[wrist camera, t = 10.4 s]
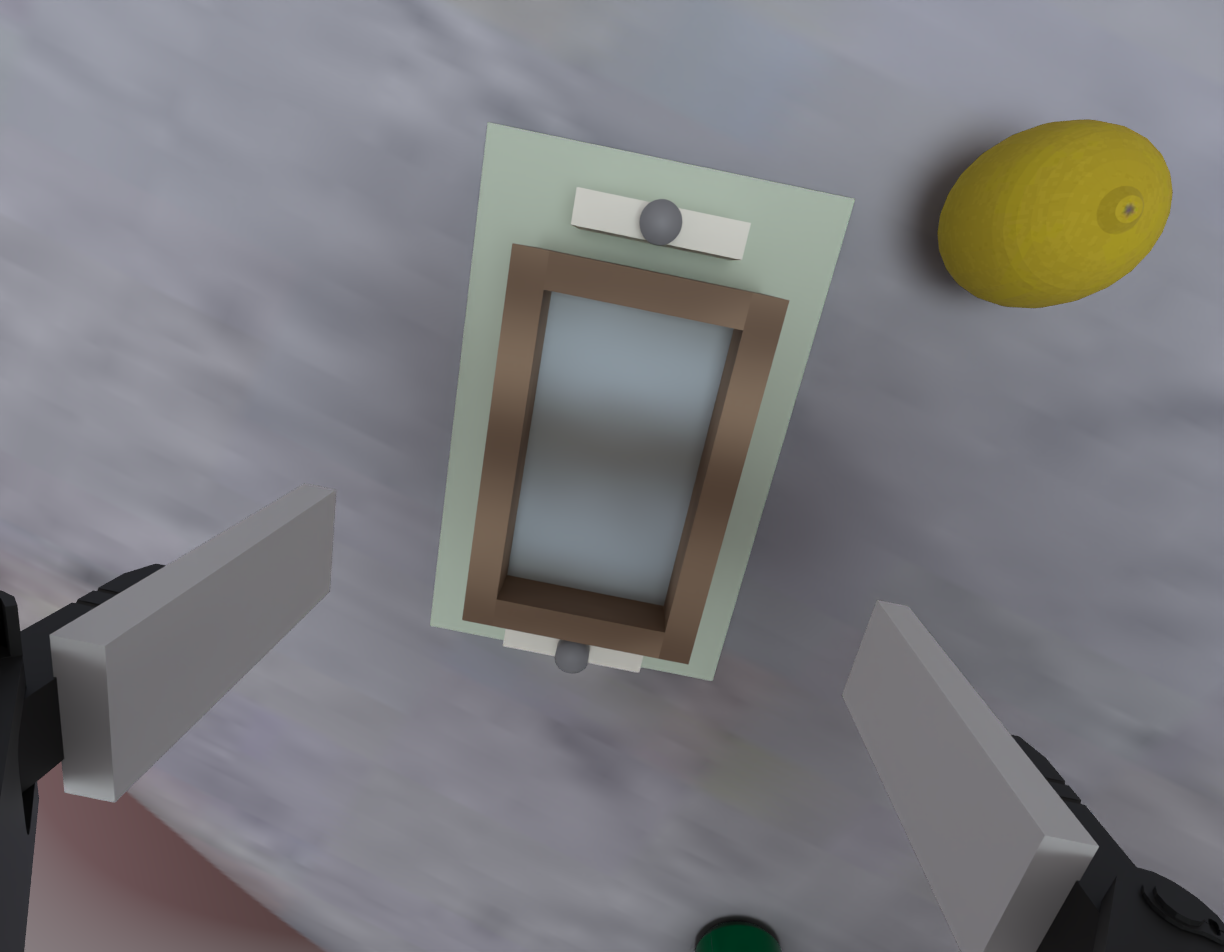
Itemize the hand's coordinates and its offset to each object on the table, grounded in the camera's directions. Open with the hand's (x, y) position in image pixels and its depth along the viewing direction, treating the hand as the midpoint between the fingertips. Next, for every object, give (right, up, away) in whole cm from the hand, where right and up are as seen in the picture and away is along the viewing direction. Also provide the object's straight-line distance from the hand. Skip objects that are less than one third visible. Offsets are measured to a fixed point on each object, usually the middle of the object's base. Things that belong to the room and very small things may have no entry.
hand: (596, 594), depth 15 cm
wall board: (+1, +5, +12) cm, 13 cm away
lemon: (+14, +13, +9) cm, 21 cm away
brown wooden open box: (+1, +4, +12) cm, 13 cm away
